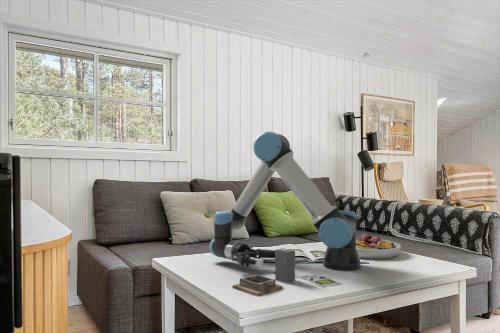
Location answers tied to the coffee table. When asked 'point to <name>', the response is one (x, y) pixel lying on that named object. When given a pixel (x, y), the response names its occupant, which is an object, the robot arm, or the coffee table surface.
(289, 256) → the block
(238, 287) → the tray
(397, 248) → the bowl
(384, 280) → the coffee table surface
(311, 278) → the handheld gaming device
